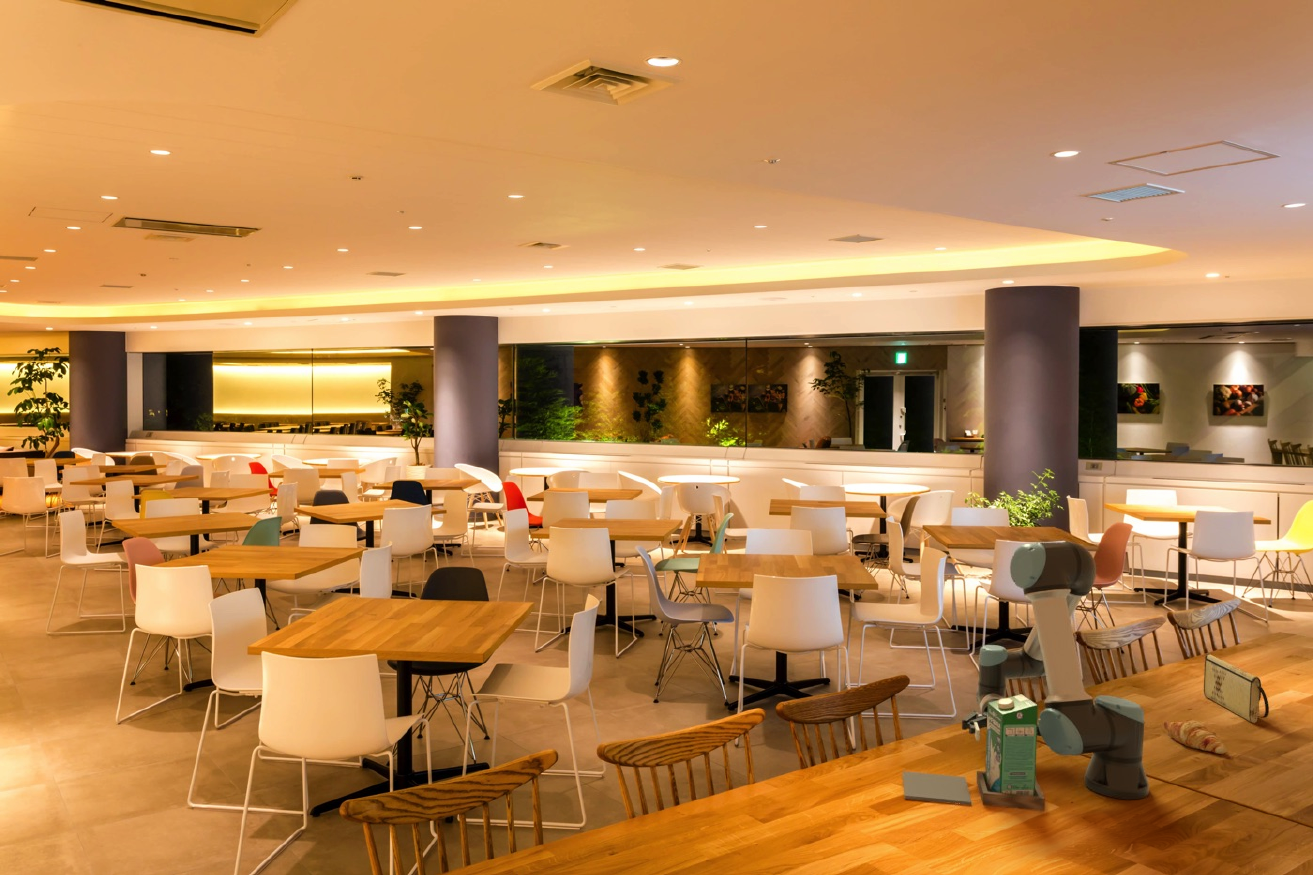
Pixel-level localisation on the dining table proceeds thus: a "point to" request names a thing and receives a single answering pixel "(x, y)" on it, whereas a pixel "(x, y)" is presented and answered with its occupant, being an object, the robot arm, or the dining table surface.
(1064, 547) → the robot arm
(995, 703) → the milk carton
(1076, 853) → the dining table surface
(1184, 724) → the croissant
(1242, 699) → the clutch purse
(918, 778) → the slate coaster
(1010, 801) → the frame
